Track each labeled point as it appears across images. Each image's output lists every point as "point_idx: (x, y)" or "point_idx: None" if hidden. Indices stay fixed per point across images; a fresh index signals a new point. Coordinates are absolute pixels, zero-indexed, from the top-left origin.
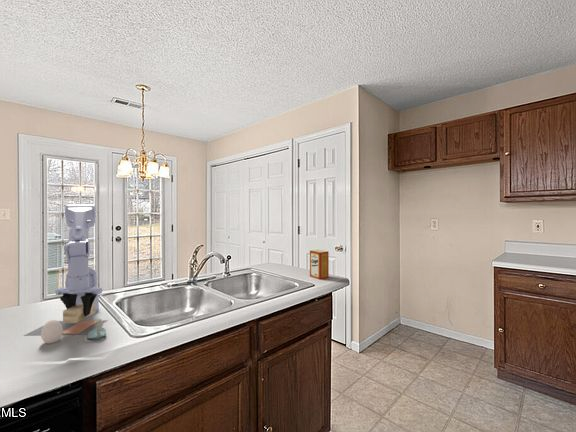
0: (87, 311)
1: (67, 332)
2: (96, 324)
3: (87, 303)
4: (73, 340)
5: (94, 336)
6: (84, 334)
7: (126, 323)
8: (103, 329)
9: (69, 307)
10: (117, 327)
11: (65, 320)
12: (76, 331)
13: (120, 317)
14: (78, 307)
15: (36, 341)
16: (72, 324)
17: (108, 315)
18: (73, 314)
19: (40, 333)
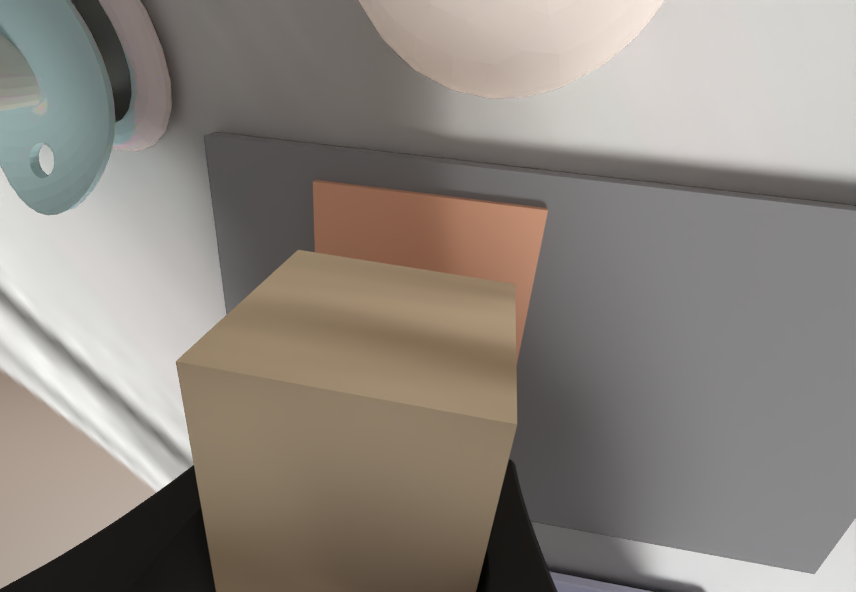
0: None
1: (462, 225)
2: None
3: (11, 584)
4: (287, 29)
5: (37, 40)
6: (226, 146)
7: (67, 393)
8: (31, 189)
9: (486, 588)
10: (75, 321)
11: (470, 295)
12: (367, 237)
13: None
14: (310, 557)
15: (784, 56)
16: (545, 449)
17: None
18: (283, 329)
19: (823, 267)
